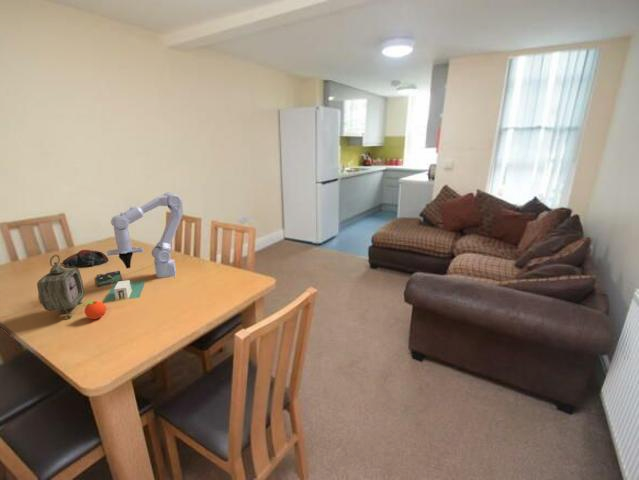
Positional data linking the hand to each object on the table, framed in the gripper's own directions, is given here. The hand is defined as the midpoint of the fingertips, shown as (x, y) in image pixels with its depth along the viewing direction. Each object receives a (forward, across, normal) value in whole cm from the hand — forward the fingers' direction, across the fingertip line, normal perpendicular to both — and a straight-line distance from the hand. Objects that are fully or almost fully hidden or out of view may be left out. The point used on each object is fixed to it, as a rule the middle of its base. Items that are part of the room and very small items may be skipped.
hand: (128, 267), depth 150 cm
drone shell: (+10, -31, +44) cm, 55 cm away
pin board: (+9, -1, -8) cm, 12 cm away
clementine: (+10, -8, -29) cm, 32 cm away
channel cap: (+8, -1, -12) cm, 15 cm away
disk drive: (+10, -11, +10) cm, 18 cm away
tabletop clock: (+10, -20, -20) cm, 30 cm away
